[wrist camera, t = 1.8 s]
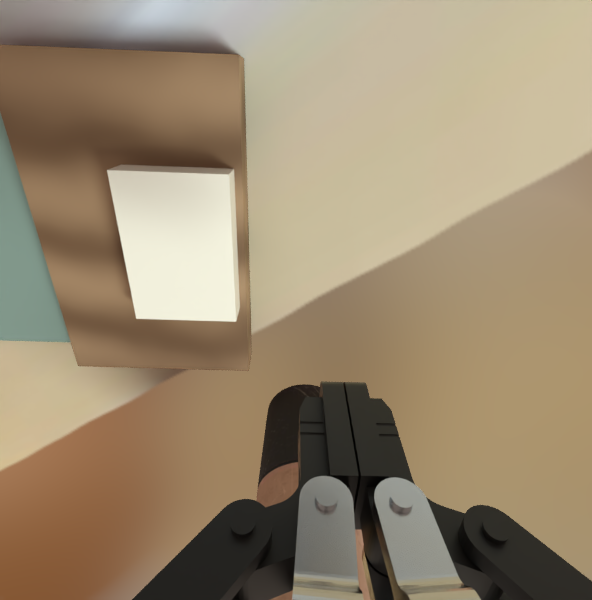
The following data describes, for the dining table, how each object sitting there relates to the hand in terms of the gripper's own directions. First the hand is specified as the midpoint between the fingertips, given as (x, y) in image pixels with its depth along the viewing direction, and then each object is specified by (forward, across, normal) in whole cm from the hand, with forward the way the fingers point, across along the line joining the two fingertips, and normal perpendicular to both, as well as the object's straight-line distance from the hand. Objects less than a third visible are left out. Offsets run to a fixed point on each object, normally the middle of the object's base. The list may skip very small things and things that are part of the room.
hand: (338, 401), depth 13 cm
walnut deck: (+17, +12, 0) cm, 21 cm away
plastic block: (+14, +9, 0) cm, 17 cm away
